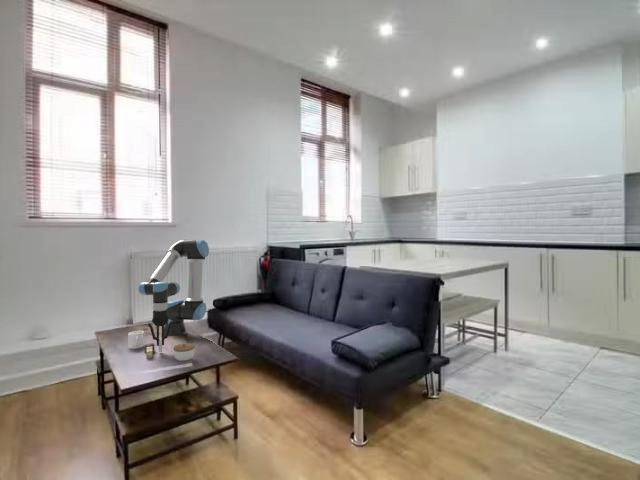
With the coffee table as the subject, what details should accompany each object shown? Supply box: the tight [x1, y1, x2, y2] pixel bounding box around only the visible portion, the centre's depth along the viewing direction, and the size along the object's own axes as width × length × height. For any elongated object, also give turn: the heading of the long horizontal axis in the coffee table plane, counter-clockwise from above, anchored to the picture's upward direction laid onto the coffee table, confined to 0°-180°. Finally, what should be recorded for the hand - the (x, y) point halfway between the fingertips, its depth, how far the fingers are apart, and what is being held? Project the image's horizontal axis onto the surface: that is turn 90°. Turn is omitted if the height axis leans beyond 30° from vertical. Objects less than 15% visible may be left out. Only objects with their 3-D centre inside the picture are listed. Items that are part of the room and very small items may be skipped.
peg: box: [144, 342, 155, 359], centre depth 190 cm, size 14×5×4 cm, turn 26°
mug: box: [127, 330, 145, 350], centre depth 201 cm, size 8×12×10 cm
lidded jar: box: [173, 342, 196, 362], centre depth 186 cm, size 11×11×9 cm
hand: (160, 351), depth 192 cm, fingers closed
